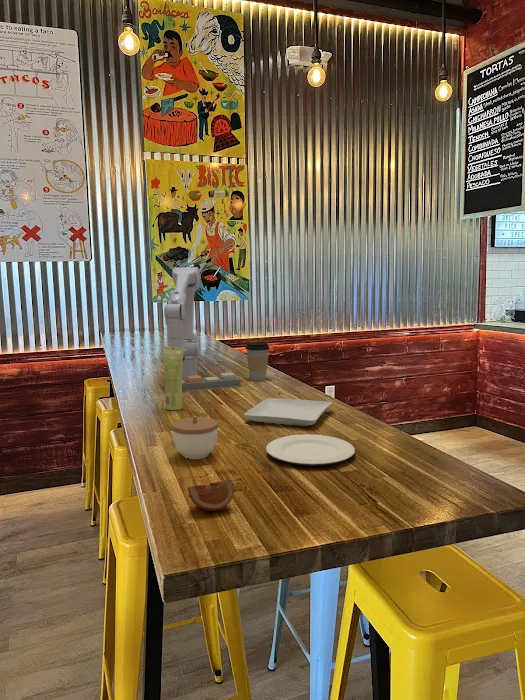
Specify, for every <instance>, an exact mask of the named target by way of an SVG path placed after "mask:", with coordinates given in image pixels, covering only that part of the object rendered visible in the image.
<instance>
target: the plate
mask: <svg viewBox="0 0 525 700" xmlns="http://www.w3.org/2000/svg"><path fill="white" fill-rule="evenodd" d="M265 451H266V453H267V454H268V455H269V456H270V457H272V458H274V459H275V460H278V461H281V462H285V463H288V464H291V465H297V466H303V467H305V466H306V467H320V466H321V467H322V466H327V465H329V466H330V465H333V464H339V463H341V462H345V461H347V460H348V459H351V458H352V457H353V456H354V454H355V453H356V450H355V447H354V445H352V444H351V443H350V442H348V441H346V440H344V439H341V438H338V437H334V436H330V435H323V434H322V435H321V434H309V433H308V434H294V435H293V434H292V435H286V436H281V437H278V438H276V439H273V440H272V441H270V442H269V443H268V444H267V445H266V447H265Z"/></svg>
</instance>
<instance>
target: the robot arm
mask: <svg viewBox="0 0 525 700" xmlns="http://www.w3.org/2000/svg"><path fill="white" fill-rule="evenodd" d="M171 273H172V274H171V275H172V276H171V277H172V282H173V283H174V287H175V288H174V290H172V291H171V293H170V296H169V300H168V303H167V304H166V305H164V308H163V309H164V310H163V311H164V312H163V315H164V319H165V325H166V341H167V343H166V344H167V346H166V347H173V348H184V352H183V368H182V380H186V376H195V375H198V361H197V360H198V359H197V358H198V357H199V356H200V355H201V352H202V351H201V350H202V349H201V348H202V347H201V346H202V345H201V339H200V337H199V336H198V335H197V334H196V333H194V312H195V311H194V309H195V307H194V305H195V304H194V303H195V293H196V291H198V290H200V283H201V281H200V278H201V277H200V275H201V273H200V269H199V267H198V266H194V267H193V266H192V267H188V266H187V267H177V266H174V267H173V269H172V272H171Z"/></svg>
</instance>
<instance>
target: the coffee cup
mask: <svg viewBox="0 0 525 700" xmlns="http://www.w3.org/2000/svg"><path fill="white" fill-rule="evenodd" d="M270 349H271V348H270V346H269V343H268V342H263V341H252V342H247V343H246V346H245V347H244V350H246V360H247V368H248V375H249V380H250V381H255V382H262V381H265V380H267V379H266V378H267V370H268V363H269V362H268V361H269V350H270Z"/></svg>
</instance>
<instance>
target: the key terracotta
mask: <svg viewBox="0 0 525 700" xmlns="http://www.w3.org/2000/svg"><path fill="white" fill-rule="evenodd" d="M202 378H203V377H202V376H201V375H199V374H197V375H195V376H186V381H187V382H188V383H197V382H202Z"/></svg>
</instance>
